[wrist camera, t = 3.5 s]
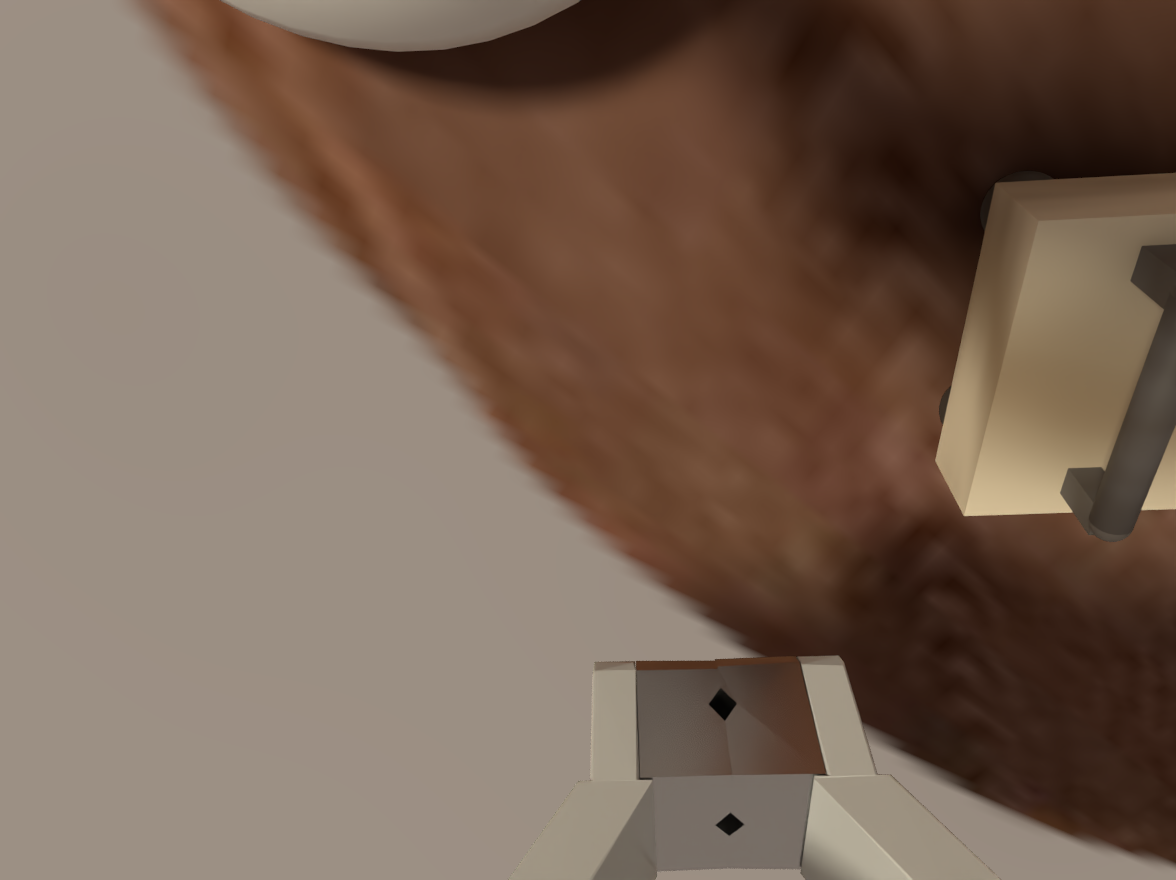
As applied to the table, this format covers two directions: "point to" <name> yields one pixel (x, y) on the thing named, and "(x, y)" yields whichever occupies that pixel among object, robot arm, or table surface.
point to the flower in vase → (402, 20)
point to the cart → (1068, 354)
